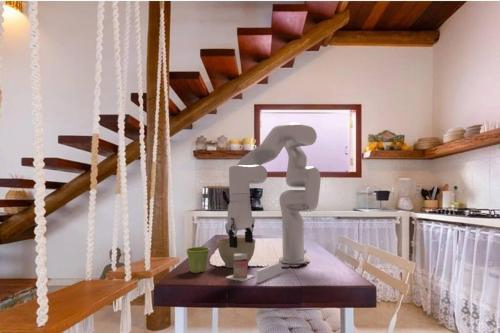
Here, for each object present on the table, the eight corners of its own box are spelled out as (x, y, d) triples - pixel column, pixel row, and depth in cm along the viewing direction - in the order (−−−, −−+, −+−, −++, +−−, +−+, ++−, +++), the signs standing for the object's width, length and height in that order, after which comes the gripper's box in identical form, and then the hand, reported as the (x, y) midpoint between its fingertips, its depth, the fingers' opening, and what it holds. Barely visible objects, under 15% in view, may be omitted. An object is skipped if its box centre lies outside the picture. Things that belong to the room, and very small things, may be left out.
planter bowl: (258, 262, 144) (258, 237, 145) (251, 271, 129) (251, 243, 129) (223, 261, 148) (223, 236, 148) (212, 270, 132) (212, 242, 133)
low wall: (279, 272, 127) (279, 262, 127) (281, 272, 126) (281, 262, 126) (256, 282, 113) (256, 270, 114) (259, 282, 113) (258, 271, 113)
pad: (237, 274, 125) (237, 273, 125) (254, 277, 120) (254, 275, 120) (225, 278, 119) (225, 277, 119) (243, 281, 115) (243, 280, 115)
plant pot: (205, 274, 125) (205, 251, 125) (181, 273, 127) (182, 250, 127) (212, 268, 134) (212, 247, 134) (191, 267, 136) (191, 246, 136)
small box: (233, 278, 118) (233, 255, 118) (234, 275, 122) (233, 253, 123) (247, 277, 118) (247, 255, 118) (247, 274, 122) (247, 253, 123)
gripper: (244, 196, 131) (246, 240, 131) (217, 200, 117) (218, 248, 116) (260, 196, 127) (262, 241, 126) (233, 200, 113) (235, 250, 112)
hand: (241, 244), depth 121 cm, fingers open, 9 cm apart
